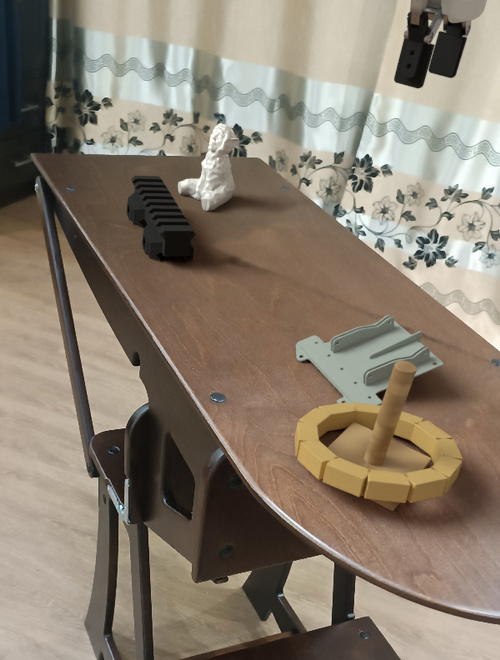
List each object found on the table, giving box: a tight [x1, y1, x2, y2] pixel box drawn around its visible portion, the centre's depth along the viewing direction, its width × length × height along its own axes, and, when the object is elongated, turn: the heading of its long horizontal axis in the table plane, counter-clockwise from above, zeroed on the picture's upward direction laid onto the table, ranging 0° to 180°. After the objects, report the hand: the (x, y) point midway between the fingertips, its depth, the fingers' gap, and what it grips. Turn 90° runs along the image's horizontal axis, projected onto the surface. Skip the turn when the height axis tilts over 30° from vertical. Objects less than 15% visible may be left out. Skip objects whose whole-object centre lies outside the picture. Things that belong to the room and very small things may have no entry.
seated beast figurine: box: [177, 122, 240, 212], centre depth 119 cm, size 10×9×12 cm
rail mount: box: [126, 175, 197, 263], centre depth 107 cm, size 21×6×5 cm, turn 16°
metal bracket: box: [295, 314, 444, 406], centre depth 85 cm, size 14×6×15 cm
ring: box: [294, 402, 464, 504], centre depth 71 cm, size 16×16×2 cm
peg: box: [327, 361, 432, 512], centre depth 68 cm, size 9×9×12 cm
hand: (425, 79), depth 78 cm, fingers open, 9 cm apart
